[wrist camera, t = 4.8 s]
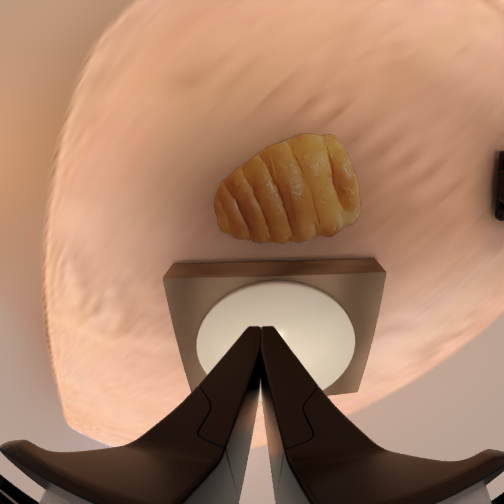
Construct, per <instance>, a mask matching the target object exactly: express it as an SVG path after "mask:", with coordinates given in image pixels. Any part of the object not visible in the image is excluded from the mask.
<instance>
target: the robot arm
mask: <svg viewBox="0 0 504 504" xmlns="http://www.w3.org/2000/svg"><path fill="white" fill-rule="evenodd" d="M495 218H496V219H498V220H500V221H504V151H503V150H502V151H500V156H499V181H498V193H497V203H496V211H495ZM260 384H261V396H262V404H263V412H264V419H265V427H266V435H267V443H268V450H269V458H270V465H271V473H272V481H273V488H274V495H275V501H276V504H504V493H502V494H501V495H499V496H498V497H497V498H495V499H494V500H492V501H491V499H490V496H489V493H488V490H487V488H486V485H487V484H488V483H490V482H491V481H492V480H493V479H495V478H496V477H497V476H498V475H500V474H501V473H502V472H503V471H504V452H502V451H498V450H492V449H487V450H484V451H482V452H480V453H478V454H476V455H475V456H473V457H471V458H468V459H465V460H460V461H439V460H432V459H426V458H420V457H415V456H410V455H405V454H400V453H395V452H391V451H388V450H386V449H384V448H382V447H380V446H378V445H377V444H376V443H374V442H373V441H372V440H371V439H369V438H368V437H367V436H366V435H365V434H364V433H363V432H362V431H361V430H360V429H359V428H358V427H356V426H355V425H354V424H353V423H352V422H351V421H350V420H349V419H348V418H347V417H346V416H345V415H344V414H343V413H342V412H341V411H340V410H339V409H338V408H337V407H336V406H335V405H334V404H333V403H332V402H331V400H330V399H329V398H328V397H327V396H326V395H325V393H324V392H323V391H322V389H321V388H320V387H319V386H318V384H317V383H316V382H315V380H314V379H313V378H312V376H311V375H310V374H309V372H308V371H307V370H306V369H305V367H304V366H303V365H302V363H301V362H300V361H299V359H298V358H297V357H296V355H295V354H294V353H293V351H292V350H291V349H290V347H289V346H288V345H287V343H286V342H285V341H284V339H283V338H282V337H281V335H280V334H279V333H278V331H277V330H276V328H275V327H274V326H262V327H260V326H248V327H247V328H246V330H245V331H244V332H243V333H242V334H241V336H240V337H239V338H238V339H237V340H236V342H235V343H234V344H233V345H232V346H231V348H230V349H229V350H228V351H227V352H226V354H225V355H224V356H223V357H222V358H221V359H220V361H219V362H218V363H217V364H216V365H215V366H214V368H213V369H212V370H211V371H210V372H209V373H208V374H207V376H206V377H205V378H204V379H203V380H202V381H201V382H200V384H199V386H197V387H196V388H195V389H194V390H193V391H192V392H191V394H190V395H189V396H188V397H187V398H186V399H185V400H184V401H183V402H182V403H181V404H180V405H179V406H178V407H176V408H175V409H174V410H173V411H172V412H171V413H170V414H168V415H167V416H166V417H165V418H164V419H162V420H161V421H160V422H159V423H157V424H156V425H155V426H154V427H152V428H151V429H150V430H149V431H147V432H146V433H145V434H144V435H142V436H141V437H140V438H138V439H137V440H135V441H133V442H131V443H129V444H127V445H123V446H119V447H113V448H106V449H98V450H89V451H78V452H52V451H48V450H45V449H42V448H40V447H38V446H36V445H35V444H33V443H31V442H29V441H27V440H15V441H9V442H7V443H4V444H2V445H1V446H0V451H1V452H2V454H3V455H4V456H5V457H6V458H7V459H8V460H10V461H11V462H12V463H13V464H14V465H15V466H16V467H18V468H19V469H20V470H21V471H22V472H23V473H25V474H26V475H27V476H28V477H30V478H31V479H32V480H33V481H35V482H36V483H37V484H39V485H40V486H41V487H43V488H44V489H45V491H44V493H43V495H42V498H41V500H40V502H39V503H38V502H37V501H36V500H34V499H33V498H31V497H29V496H28V495H27V494H25V493H24V492H23V491H21V490H20V489H18V488H17V487H16V486H14V485H13V484H12V483H11V482H9V481H8V480H6V479H5V478H4V477H3V476H2V475H0V504H239V500H240V495H241V490H242V485H243V481H244V476H245V471H246V466H247V460H248V455H249V450H250V445H251V439H252V434H253V428H254V423H255V417H256V412H257V406H258V400H259V394H260Z"/></svg>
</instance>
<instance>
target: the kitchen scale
mask: <svg viewBox="0 0 504 504" xmlns="http://www.w3.org/2000/svg"><path fill="white" fill-rule="evenodd" d="M385 276H386V271H385V270H384V269H383V267H382V266H381V265H380V264H379V263H378V262H377V261H376V259H375V258H373V259H345V260H314V261H280V262H241V263H195V264H173V265H172V266H171V267H170V269H169V270H168V271H167V273H166V274H165V275H164V277H163V282H164V287H165V291H166V296H167V301H168V305H169V310H170V314H171V319H172V323H173V327H174V331H175V335H176V339H177V343H178V347H179V351H180V355H181V358H182V362H183V366H184V369H185V373H186V376H187V380H188V383H189V386H190V390H191V392H192V391H193V390H194V389H195V388H196V387H197V386H199V384H200V382H201V381H202V380H203V379H204V378H205V377H206V376H207V374H208V373H209V372H210V371H211V370H212V369H213V368H214V366H215V365H216V364H217V363H218V362H219V361H220V359H221V358H222V357H223V356H224V355H225V354H226V352H227V351H228V350H229V349H230V348H231V346H232V345H233V344H234V343H235V342H236V340H237V339H238V338H239V337H240V336H241V334H242V333H243V332H244V331H245V330H246V328H247V327H248V326H260V327H262V326H274V327H275V328H276V330H277V331H278V333H279V334H280V335H281V337H282V338H283V339H284V341H285V342H286V343H287V345H288V346H289V347H290V349H291V350H292V351H293V353H294V354H295V355H296V357H297V358H298V359H299V361H300V362H301V363H302V365H303V366H304V367H305V369H306V370H307V371H308V372H309V374H310V375H311V376H312V378H313V379H314V380H315V382H316V383H317V384H318V386H319V387H320V388H321V389H322V391H323V392H324V393H325V395H326V396H328V395H338V394H346V393H354V392H358V389H359V386H360V383H361V380H362V376H363V373H364V369H365V366H366V362H367V359H368V355H369V351H370V348H371V344H372V340H373V336H374V332H375V327H376V323H377V318H378V314H379V309H380V304H381V299H382V293H383V288H384V282H385ZM258 402H262V396H261V384H260V394H259V400H258Z"/></svg>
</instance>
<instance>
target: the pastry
mask: <svg viewBox="0 0 504 504" xmlns="http://www.w3.org/2000/svg"><path fill="white" fill-rule="evenodd" d="M214 201H215V202H214V207H215V212H216V215H217V220H218V221H217V222H218V226H219V228H220V230H221V231H223V232H224V233H227V234H229V235H231V236H233V237H234V238H236V239H240V240H243V239H245V240H252V241H253V242H256V243H264V242H275V243H285V242H288V241H294V242H296V243H300V242H303V241H306V240H308V239H309V238H311V237H315V236H317V235H322V236H325V237H331V236H334V235H335V234H336V233H337V232H338V231H339V230H340V229H341V228H343V227H344V226H346V225H352V224H353V223H354V222H355V221H356V219H357V217H358V216H359V211H360V204H361V203H360V198H359V189H358V183H357V177H356V174H355V172H354V170H353V168H352V166H351V160H350V158H349V156H348V154H347V152H346V150H345V148H344V146H343V144H342V143H341V142H340V141H339V140H338V138H337V137H335V136H333V135H330V134H328V135H314V134H299V135H297V136H295V137H293V138H291V139H289V140H285V141H283V142H280V143H278V144H274V145H271V146H269V147H267V148H266V149H264V150H263V151H262V152H260V153H258V154H257V155H255V156H254V157H253V158H252V159H251V160H249V161H248V162H246V163H245V164H243V165H242V166H241V167H239V168H237V169H236V170H235V171H234V172H233V173H231V174H230V175H229V176H228V177H227V178H226V179H224V180H223V181H222V182H221V185H220V187H219V189H218V191H217V194H216V196H215V200H214Z"/></svg>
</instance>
